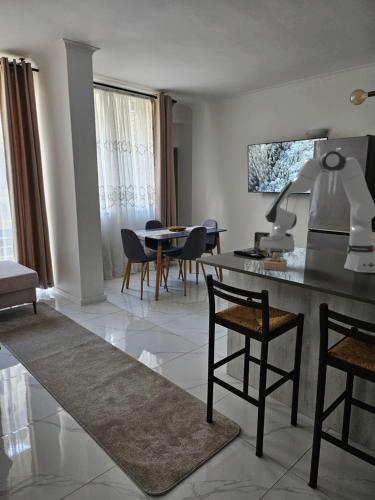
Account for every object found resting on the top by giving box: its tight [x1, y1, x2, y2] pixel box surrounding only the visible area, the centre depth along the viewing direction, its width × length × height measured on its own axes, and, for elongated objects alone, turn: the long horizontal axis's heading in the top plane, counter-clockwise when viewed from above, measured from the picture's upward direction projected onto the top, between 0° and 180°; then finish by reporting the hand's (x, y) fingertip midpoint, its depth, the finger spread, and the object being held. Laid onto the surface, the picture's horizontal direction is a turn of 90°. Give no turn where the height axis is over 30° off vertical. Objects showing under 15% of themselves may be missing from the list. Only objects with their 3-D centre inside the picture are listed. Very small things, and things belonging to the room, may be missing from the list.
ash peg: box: [272, 251, 281, 262], centre depth 202 cm, size 4×4×9 cm
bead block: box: [262, 257, 288, 272], centre depth 202 cm, size 12×12×4 cm
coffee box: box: [253, 231, 271, 258], centre depth 234 cm, size 9×6×16 cm
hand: (275, 256), depth 201 cm, fingers open, 5 cm apart
